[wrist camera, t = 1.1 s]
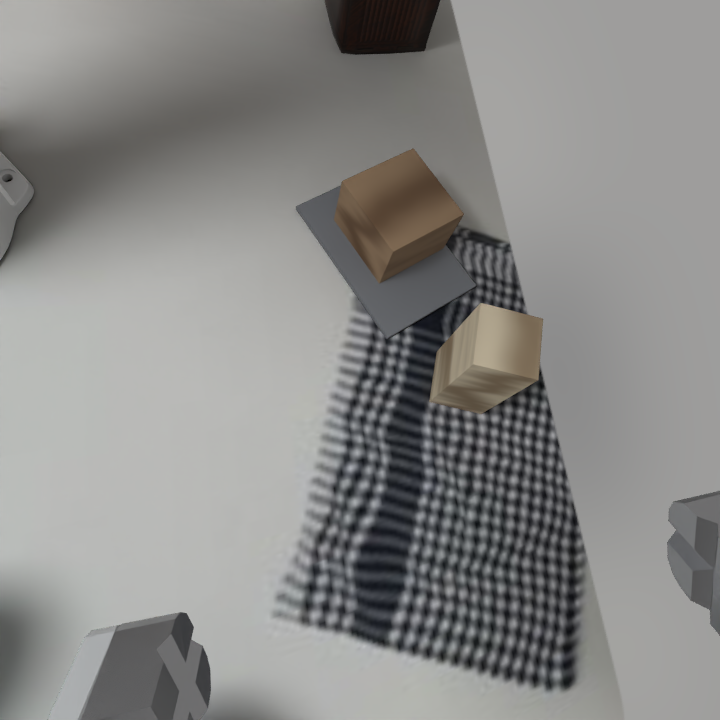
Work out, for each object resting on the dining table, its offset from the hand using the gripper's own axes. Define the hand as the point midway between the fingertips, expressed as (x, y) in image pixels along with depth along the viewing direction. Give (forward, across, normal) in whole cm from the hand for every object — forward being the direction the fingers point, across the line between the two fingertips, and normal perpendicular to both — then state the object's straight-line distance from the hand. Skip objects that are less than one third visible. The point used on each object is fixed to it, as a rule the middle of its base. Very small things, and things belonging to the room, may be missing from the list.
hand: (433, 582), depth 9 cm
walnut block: (+47, -5, +4) cm, 47 cm away
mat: (+46, -5, +5) cm, 47 cm away
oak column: (+37, -8, +16) cm, 42 cm away
